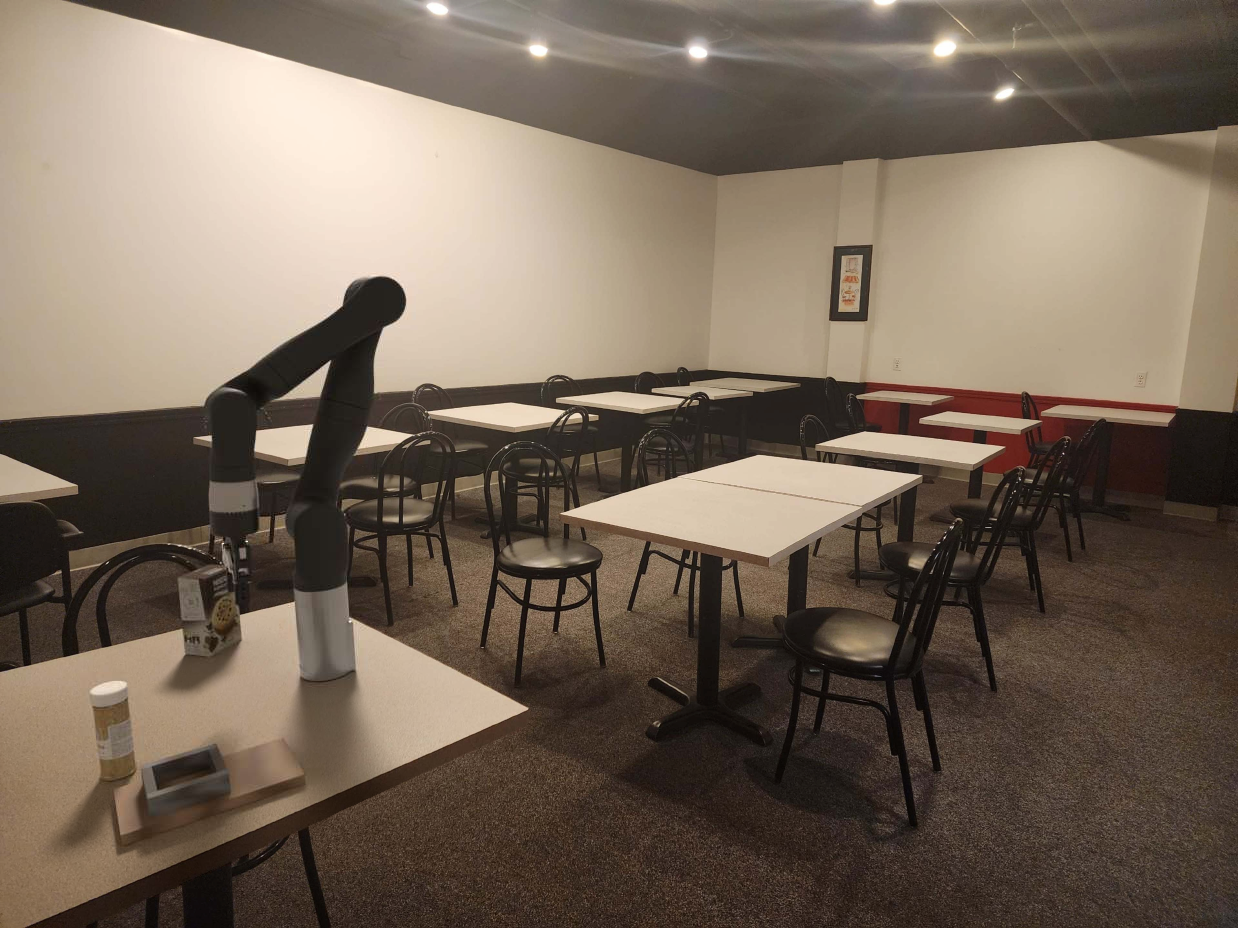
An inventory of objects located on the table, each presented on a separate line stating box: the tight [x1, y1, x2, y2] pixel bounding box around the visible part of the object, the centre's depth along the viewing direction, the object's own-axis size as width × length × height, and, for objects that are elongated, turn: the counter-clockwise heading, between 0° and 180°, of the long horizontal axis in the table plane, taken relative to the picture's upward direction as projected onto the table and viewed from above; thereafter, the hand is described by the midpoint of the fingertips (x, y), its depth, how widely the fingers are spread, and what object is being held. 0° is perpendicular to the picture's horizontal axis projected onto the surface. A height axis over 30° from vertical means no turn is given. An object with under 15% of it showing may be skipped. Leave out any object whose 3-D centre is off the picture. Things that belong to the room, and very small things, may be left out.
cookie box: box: [177, 564, 243, 658], centre depth 152 cm, size 9×6×16 cm
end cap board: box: [113, 737, 307, 847], centre depth 105 cm, size 22×12×4 cm, turn 127°
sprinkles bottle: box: [89, 680, 138, 782], centre depth 109 cm, size 5×5×14 cm
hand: (238, 597), depth 131 cm, fingers open, 8 cm apart
